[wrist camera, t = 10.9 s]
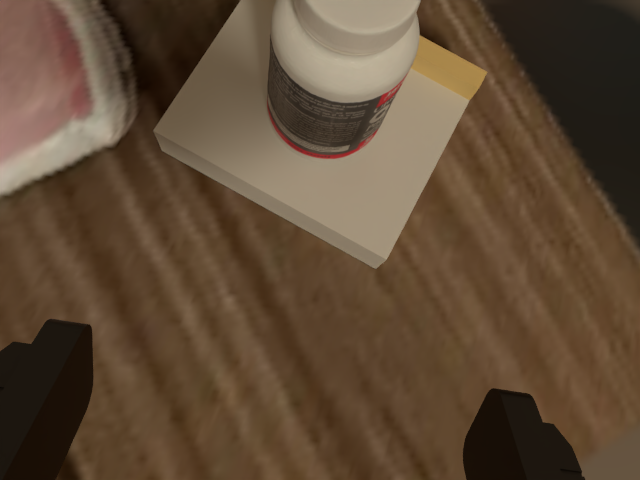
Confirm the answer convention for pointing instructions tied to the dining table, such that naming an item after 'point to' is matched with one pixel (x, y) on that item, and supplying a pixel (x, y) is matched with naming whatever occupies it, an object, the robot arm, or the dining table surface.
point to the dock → (302, 174)
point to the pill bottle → (337, 71)
